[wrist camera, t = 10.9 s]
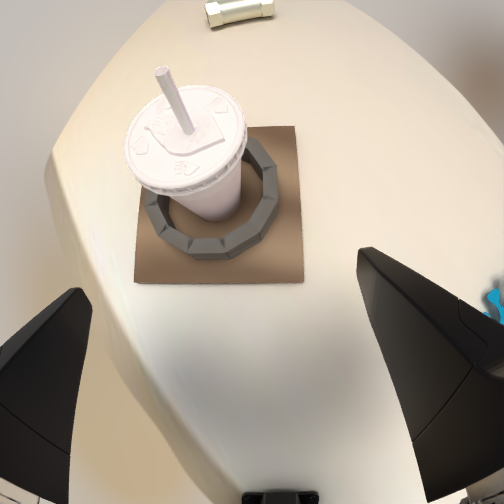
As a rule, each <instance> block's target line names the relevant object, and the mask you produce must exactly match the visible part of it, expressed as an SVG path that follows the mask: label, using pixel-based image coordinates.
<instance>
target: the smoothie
mask: <svg viewBox="0 0 504 504" xmlns="http://www.w3.org/2000/svg"><path fill="white" fill-rule="evenodd" d="M154 75H155V77H156V79H157V81H158V83H159V85H160V87H161V89H162V91H163V94H161V95H159V96H157V97H156V98H154V99H153V100H152V101H150V102H149V103H148V104H146V105H145V106H144V107H143V108H142V109H141V110H140V111H139V112H138V114H137V115H136V116H135V118H134V119H133V121H132V122H131V124H130V126H129V128H128V130H127V133H126V136H125V140H124V149H123V150H124V158H125V162H126V164H127V167H128V168H129V170H130V172H131V173H132V174H133V175H134V177H135V178H136V179H137V180H138V182H139V183H140V184H141V185H142V186H143V187H144V188H146V189H148V190H150V191H152V192H154V193H156V194H160V195H166V196H169V197H171V198H172V199H174V200H175V201H177V202H179V203H180V204H182V205H183V206H185V207H186V208H188V209H189V210H191V211H192V212H194V213H195V214H197V215H198V216H200V217H201V218H203V219H204V220H206V221H209V222H221V221H224V220H227V219H228V218H230V217H231V216H232V215H234V213H235V212H236V211H237V209H238V207H239V205H240V199H241V157H242V155H243V153H244V149H245V146H246V143H247V125H246V122H245V119H244V115H243V112H242V109H241V107H240V105H239V104H238V102H237V101H236V100H235V99H234V98H233V97H232V96H231V95H230V94H228V93H227V92H225V91H223V90H221V89H218V88H215V87H212V86H206V85H189V86H183V87H179V88H177V87H176V85H175V82H174V80H173V78H172V76H171V73H170V71H169V69H168V67H167V66H161V67H159V68H157V69H156V70H155V71H154Z"/></svg>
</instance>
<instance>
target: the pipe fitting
mask: <svg viewBox="0 0 504 504" xmlns="http://www.w3.org/2000/svg"><path fill="white" fill-rule="evenodd" d="M204 6H205V10H206V14H207V18H208V21H209V24H210V27H211V28H212V27H216V26H220V25H223V24H226V23H231V22H236V21H240V20H246V19H251V18H256V17H265V16H272V15H274V11H275V10H274V3H273V0H208V1H207V4H206V5H204Z"/></svg>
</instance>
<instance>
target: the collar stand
mask: <svg viewBox="0 0 504 504" xmlns="http://www.w3.org/2000/svg"><path fill="white" fill-rule="evenodd" d="M134 282H135V283H146V284H251V283H300V282H304V267H303V241H302V221H301V203H300V188H299V174H298V161H297V149H296V137H295V127H294V126H268V127H247V143H246V146H245V149H244V153H243V155H242V157H241V199H240V205H239V207H238V209H237V211H236V212H235V213H234V215H232V216H231V217H230V218H228V219H227V220H224V221H221V222H209V221H206V220H204V219H203V218H201V217H200V216H198V215H197V214H195V213H194V212H192V211H191V210H189V209H188V208H186V207H185V206H183V205H182V204H180V203H179V202H177V201H175V200H174V199H172V198H171V197H169V196H166V195H160V194H156V193H154V192H152V191H150V190H148V189H146V188H144V187H143V186H142V189H141V197H140V206H139V215H138V226H137V238H136V251H135V269H134Z"/></svg>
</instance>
